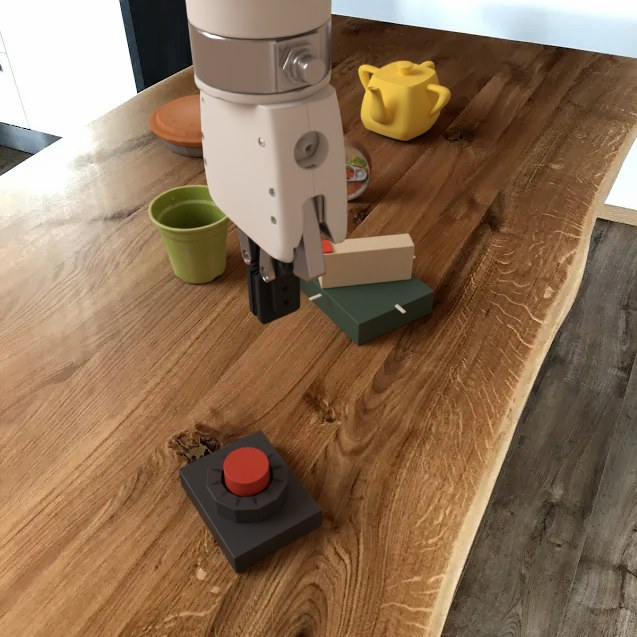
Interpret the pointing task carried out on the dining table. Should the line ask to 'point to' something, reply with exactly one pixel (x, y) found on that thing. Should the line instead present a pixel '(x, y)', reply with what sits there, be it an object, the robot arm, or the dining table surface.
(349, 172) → the tin
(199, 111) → the pie
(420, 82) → the teapot
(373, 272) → the beige rectangular block
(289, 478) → the control block
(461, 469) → the dining table surface
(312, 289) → the dial base
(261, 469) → the button
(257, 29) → the robot arm
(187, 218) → the plant pot
